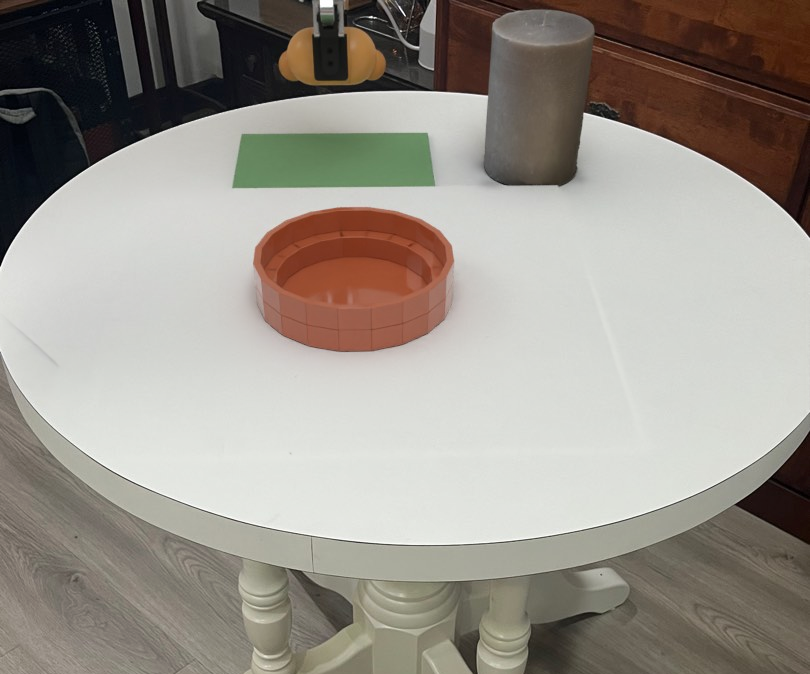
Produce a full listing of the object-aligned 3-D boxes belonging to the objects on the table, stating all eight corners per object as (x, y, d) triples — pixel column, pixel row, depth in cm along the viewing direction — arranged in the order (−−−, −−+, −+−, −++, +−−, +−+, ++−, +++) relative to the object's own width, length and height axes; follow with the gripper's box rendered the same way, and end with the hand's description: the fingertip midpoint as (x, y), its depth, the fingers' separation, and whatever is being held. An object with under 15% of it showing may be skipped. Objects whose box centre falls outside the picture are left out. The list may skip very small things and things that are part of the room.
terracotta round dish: (252, 359, 78) (246, 309, 75) (264, 254, 89) (260, 207, 86) (458, 356, 79) (461, 306, 75) (444, 252, 90) (446, 205, 87)
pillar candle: (596, 170, 102) (620, 12, 91) (531, 199, 97) (549, 37, 87) (526, 139, 107) (541, -14, 96) (462, 166, 102) (470, 8, 92)
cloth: (232, 193, 98) (231, 189, 97) (242, 137, 107) (241, 133, 107) (435, 191, 98) (435, 187, 98) (427, 136, 108) (427, 132, 107)
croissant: (278, 93, 95) (273, 38, 91) (280, 73, 99) (276, 19, 95) (386, 92, 95) (386, 37, 92) (385, 73, 99) (385, 19, 95)
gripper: (281, -179, 89) (296, 37, 102) (270, -134, 77) (289, 104, 90) (365, -180, 89) (369, 36, 102) (367, -135, 77) (372, 103, 90)
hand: (331, 66), depth 96 cm, fingers closed on croissant, 5 cm apart
